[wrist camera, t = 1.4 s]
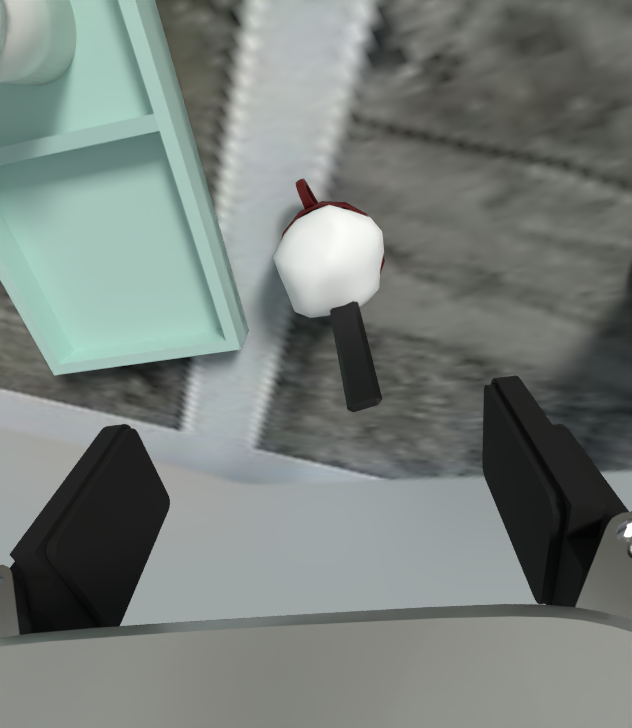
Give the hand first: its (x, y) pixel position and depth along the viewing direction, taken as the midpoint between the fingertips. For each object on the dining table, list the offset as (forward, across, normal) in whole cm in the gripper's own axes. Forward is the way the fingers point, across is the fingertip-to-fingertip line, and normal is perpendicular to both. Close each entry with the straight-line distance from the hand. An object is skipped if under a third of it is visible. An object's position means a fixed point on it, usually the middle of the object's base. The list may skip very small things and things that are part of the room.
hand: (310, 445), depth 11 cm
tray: (+20, +14, -8) cm, 25 cm away
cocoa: (+20, 0, 0) cm, 20 cm away
